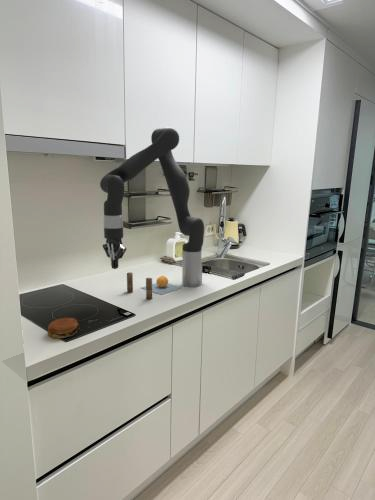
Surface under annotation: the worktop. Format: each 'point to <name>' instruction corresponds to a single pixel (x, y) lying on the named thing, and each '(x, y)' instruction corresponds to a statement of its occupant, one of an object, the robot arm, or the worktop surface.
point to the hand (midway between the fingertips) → (114, 268)
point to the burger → (63, 328)
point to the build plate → (206, 268)
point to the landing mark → (163, 288)
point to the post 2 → (148, 288)
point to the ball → (162, 281)
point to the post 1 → (129, 282)
